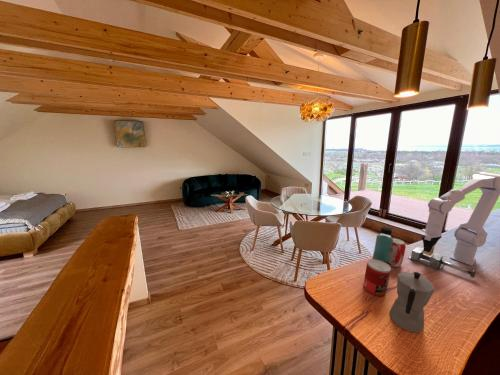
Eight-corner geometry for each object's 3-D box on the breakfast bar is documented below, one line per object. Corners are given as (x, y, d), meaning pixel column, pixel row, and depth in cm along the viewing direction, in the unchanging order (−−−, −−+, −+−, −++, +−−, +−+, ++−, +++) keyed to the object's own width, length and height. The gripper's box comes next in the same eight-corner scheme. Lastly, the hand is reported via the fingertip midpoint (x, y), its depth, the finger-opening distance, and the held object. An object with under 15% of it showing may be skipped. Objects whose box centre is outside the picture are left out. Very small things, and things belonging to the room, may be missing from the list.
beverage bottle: (371, 270, 95) (378, 229, 90) (370, 263, 101) (377, 224, 96) (388, 275, 92) (397, 233, 87) (386, 267, 98) (394, 227, 93)
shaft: (431, 262, 100) (432, 256, 100) (433, 260, 102) (434, 255, 101) (473, 278, 89) (475, 272, 89) (474, 276, 91) (476, 270, 91)
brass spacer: (422, 253, 102) (424, 244, 101) (425, 250, 105) (427, 241, 104) (430, 255, 100) (432, 247, 99) (432, 253, 103) (435, 244, 101)
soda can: (404, 269, 97) (409, 245, 94) (387, 267, 98) (392, 243, 95) (397, 260, 103) (402, 238, 101) (381, 258, 105) (385, 236, 102)
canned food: (378, 299, 78) (383, 273, 75) (358, 286, 85) (362, 261, 82) (390, 293, 82) (395, 268, 79) (370, 280, 88) (375, 257, 86)
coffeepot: (392, 302, 77) (402, 258, 73) (425, 317, 71) (438, 270, 67) (382, 328, 66) (393, 278, 62) (420, 349, 60) (436, 295, 56)
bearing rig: (408, 258, 106) (410, 250, 105) (413, 253, 110) (415, 245, 109) (439, 270, 96) (441, 261, 95) (444, 264, 101) (446, 256, 100)
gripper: (429, 217, 106) (422, 242, 109) (419, 224, 98) (413, 250, 101) (447, 222, 101) (440, 248, 104) (439, 229, 92) (431, 257, 95)
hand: (428, 249), depth 102 cm, fingers closed on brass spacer, 5 cm apart
